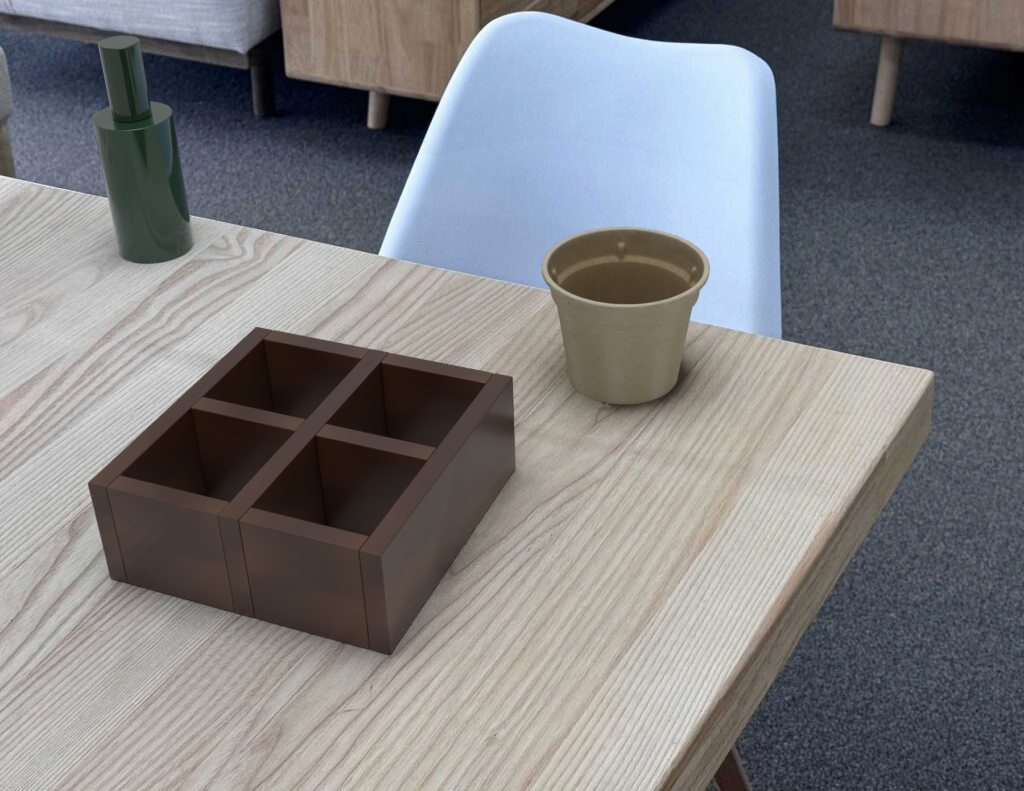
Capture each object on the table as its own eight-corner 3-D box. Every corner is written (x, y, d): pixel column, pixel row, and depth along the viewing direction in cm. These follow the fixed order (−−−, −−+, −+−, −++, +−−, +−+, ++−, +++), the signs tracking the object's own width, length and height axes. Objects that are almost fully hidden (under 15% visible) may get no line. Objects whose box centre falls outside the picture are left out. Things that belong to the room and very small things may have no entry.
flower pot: (697, 444, 79) (705, 310, 74) (532, 431, 80) (529, 299, 75) (706, 356, 86) (714, 230, 82) (555, 346, 88) (554, 222, 83)
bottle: (107, 273, 98) (60, 50, 89) (149, 241, 102) (109, 25, 93) (170, 285, 96) (128, 59, 87) (211, 251, 100) (175, 33, 91)
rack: (109, 578, 70) (86, 482, 67) (268, 414, 82) (255, 325, 79) (390, 655, 65) (380, 555, 62) (516, 467, 77) (513, 376, 74)
